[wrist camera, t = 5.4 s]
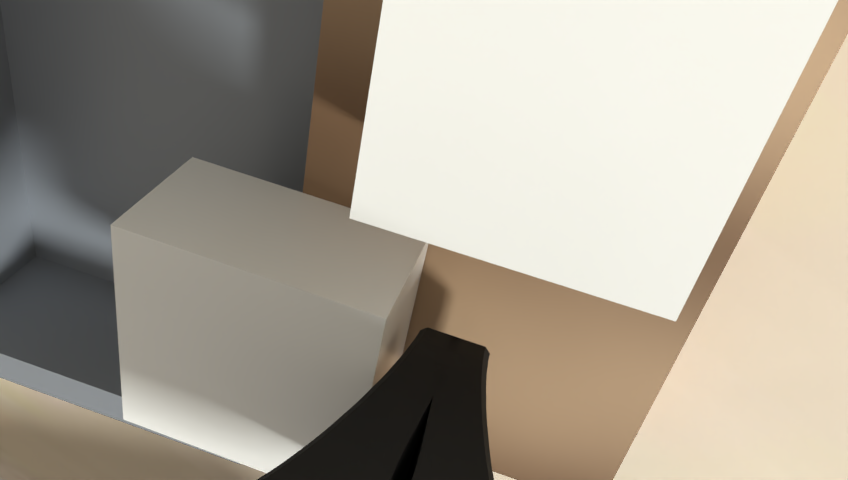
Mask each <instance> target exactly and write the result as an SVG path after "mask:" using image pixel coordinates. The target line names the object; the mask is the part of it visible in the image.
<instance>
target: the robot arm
mask: <svg viewBox="0 0 848 480" xmlns="http://www.w3.org/2000/svg"><path fill="white" fill-rule="evenodd" d="M489 356H490V353H489V351H488V350H487V348H486V347H485V346H482V345H479V344H476V343H473V342H470V341H467V340H464V339H461V338H458V337H455V336H452V335H449V334H446V333H443V332H440V331H437V330H434V329H431V328H428V327H427V328H425V329H422V330H420V331H419V333H418V334H417V336H416V337H415V339H414V340H413V342H412V343H411V344H410V346H409V347H408V348H407V350H406V351H405V352H404V353H403V355H402V356H401V357H400V358H399V359H398V360H397V362H396V363H395V364H394V365H393V366H392V367H391V368H390V369H389V371H388V372H387V373H386V374H385V375H384V376H383V377H382V378H381V379H380V380H379V381H378V382H377V383H376V384H375V385H374V386H373V387H372V388H371V389H370V390H369V391H368V392H367V393H366V394H365V395H364V396H363V397H362V398H361V399H360V400H359V401H358V402H357V403H356V404H355V405H353V406H352V407H351V408H350V409H349V410H348V411H347V412H346V413H344V414H343V415H342V416H341V417H340V418H339V419H338V420H336V421H335V422H334V423H333V424H332V425H331V426H330V427H328V428H327V429H326V430H325V431H324V432H322V433H321V434H320V435H319V436H317V437H316V438H315V439H314V440H312V441H311V442H310V443H309V444H307V445H306V446H305V447H303V448H302V449H301V450H299V451H298V452H297V453H295V454H294V455H293V456H291V457H290V458H288V459H287V460H286V461H284V462H283V463H282V464H280V465H279V466H277V467H276V468H274V469H273V470H271V471H270V472H268V473H267V474H265V475H264V476H262V477H261V478H259V479H258V480H494V479H493V472H492V465H491V458H490V449H489V438H488V427H487V412H486V379H487V368H488V360H489Z"/></svg>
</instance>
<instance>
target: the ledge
mask: <svg viewBox="0 0 848 480" xmlns="http://www.w3.org/2000/svg"><path fill="white" fill-rule="evenodd" d="M382 4H383V0H324V2H323V11H322V20H321V29H320V38H319V48H318V57H317V66H316V75H315V84H314V93H313V103H312V112H311V121H310V130H309V139H308V148H307V158H306V167H305V176H304V185H303V193H305V194H308V195H311V196H314V197H317V198H320V199H324V200H327V201H330V202H333V203H336V204H339V205H342V206H345V207H348V208H351V204H352V198H353V191H354V185H355V178H356V172H357V165H358V159H359V152H360V146H361V139H362V133H363V127H364V120H365V114H366V107H367V101H368V94H369V88H370V81H371V75H372V68H373V62H374V55H375V49H376V43H377V36H378V30H379V23H380V17H381V10H382ZM847 34H848V0H838V2H837V4H836V6H835V8H834V10H833V12H832V14H831V16H830V18H829V20H828V22H827V24H826V26H825V28H824V30H823V32H822V34H821V36H820V38H819V40H818V42H817V44H816V45H815V47H814V49H813V51H812V53H811V55H810V57H809V59H808V61H807V63H806V65H805V67H804V69H803V71H802V73H801V75H800V77H799V79H798V81H797V83H796V85H795V87H794V89H793V91H792V93H791V95H790V97H789V99H788V101H787V103H786V105H785V107H784V109H783V111H782V113H781V115H780V117H779V119H778V121H777V123H776V125H775V127H774V129H773V130H772V132H771V134H770V136H769V138H768V140H767V142H766V144H765V146H764V148H763V150H762V152H761V154H760V156H759V158H758V160H757V162H756V164H755V166H754V168H753V170H752V172H751V174H750V176H749V178H748V180H747V182H746V184H745V186H744V188H743V190H742V192H741V194H740V196H739V198H738V200H737V202H736V204H735V206H734V208H733V210H732V212H731V214H730V215H729V217H728V219H727V221H726V223H725V225H724V227H723V229H722V231H721V233H720V235H719V237H718V239H717V241H716V243H715V245H714V247H713V249H712V251H711V253H710V255H709V257H708V259H707V261H706V263H705V265H704V267H703V269H702V271H701V273H700V275H699V277H698V279H697V281H696V283H695V285H694V287H693V289H692V291H691V293H690V295H689V297H688V298H687V300H686V302H685V304H684V306H683V308H682V310H681V312H680V314H679V316H678V318H677V320H676V321H672V320H669V319H666V318H663V317H660V316H657V315H653V314H650V313H647V312H644V311H641V310H638V309H634V308H631V307H628V306H625V305H622V304H619V303H615V302H612V301H609V300H606V299H603V298H600V297H596V296H593V295H590V294H587V293H584V292H581V291H578V290H574V289H571V288H568V287H565V286H562V285H559V284H555V283H552V282H549V281H546V280H543V279H540V278H536V277H533V276H530V275H527V274H524V273H521V272H517V271H514V270H511V269H508V268H505V267H502V266H498V265H495V264H492V263H489V262H486V261H483V260H479V259H476V258H473V257H470V256H467V255H464V254H461V253H457V252H454V251H451V250H448V249H445V248H442V247H438V246H435V245H432V244H429V243H428V248H427V252H426V256H425V260H424V265H423V269H422V273H421V277H420V282H419V286H418V290H417V294H416V299H415V303H414V307H413V311H412V316H411V320H410V324H409V329H408V333H407V337H406V341H405V346H404V350H403V353H404V352H405V351H406V350H407V348H408V347H409V346H410V344H411V343H412V342H413V340H414V339H415V337H416V336H417V334H418V333H419V331H420V330H422V329H425V328H427V327H428V328H431V329H434V330H437V331H440V332H443V333H446V334H449V335H452V336H455V337H458V338H461V339H464V340H467V341H470V342H473V343H476V344H479V345H482V346H485V347H486V348H487V350H488V351H489V353H490V356H489V360H488V368H487V379H486V412H487V427H488V438H489V449H490V458H491V465H492V471H494V472H497V473H499V474H502V475H505V476H508V477H511V478H514V479H517V480H613V478H614V476H615V475H616V473H617V471H618V469H619V467H620V465H621V463H622V461H623V459H624V457H625V456H626V454H627V452H628V450H629V448H630V446H631V444H632V442H633V440H634V438H635V437H636V435H637V433H638V431H639V429H640V427H641V425H642V423H643V421H644V419H645V418H646V416H647V414H648V412H649V410H650V408H651V406H652V404H653V402H654V400H655V399H656V397H657V395H658V393H659V391H660V389H661V387H662V385H663V383H664V381H665V380H666V378H667V376H668V374H669V372H670V370H671V368H672V366H673V364H674V362H675V361H676V359H677V357H678V355H679V353H680V351H681V349H682V347H683V345H684V344H685V342H686V340H687V338H688V336H689V334H690V332H691V330H692V328H693V326H694V325H695V323H696V321H697V319H698V317H699V315H700V313H701V311H702V309H703V307H704V306H705V304H706V302H707V300H708V298H709V296H710V294H711V292H712V290H713V288H714V287H715V285H716V283H717V281H718V279H719V277H720V275H721V273H722V271H723V269H724V268H725V266H726V264H727V262H728V260H729V258H730V256H731V254H732V252H733V250H734V249H735V247H736V245H737V243H738V241H739V239H740V237H741V235H742V233H743V231H744V230H745V228H746V226H747V224H748V222H749V220H750V218H751V216H752V214H753V212H754V211H755V209H756V207H757V205H758V203H759V201H760V199H761V197H762V195H763V194H764V192H765V190H766V188H767V186H768V184H769V182H770V180H771V178H772V176H773V175H774V173H775V171H776V169H777V167H778V165H779V163H780V161H781V159H782V157H783V156H784V154H785V152H786V150H787V148H788V146H789V144H790V142H791V140H792V138H793V137H794V135H795V133H796V131H797V129H798V127H799V125H800V123H801V121H802V119H803V118H804V116H805V114H806V112H807V110H808V108H809V106H810V104H811V102H812V100H813V99H814V97H815V95H816V93H817V91H818V89H819V87H820V85H821V83H822V81H823V80H824V78H825V76H826V74H827V72H828V70H829V68H830V66H831V64H832V62H833V61H834V59H835V57H836V55H837V53H838V51H839V49H840V47H841V45H842V44H843V42H844V40H845V38H846V36H847ZM402 355H403V354H402Z"/></svg>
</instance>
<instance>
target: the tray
mask: <svg viewBox="0 0 848 480" xmlns="http://www.w3.org/2000/svg"><path fill="white" fill-rule="evenodd" d="M323 2H324V0H0V378H3V379H6V380H8V381H11V382H14V383H17V384H19V385H22V386H25V387H28V388H30V389H33V390H36V391H39V392H41V393H44V394H47V395H50V396H53V397H55V398H58V399H61V400H64V401H66V402H69V403H72V404H75V405H77V406H80V407H83V408H86V409H88V410H91V411H94V412H97V413H99V414H102V415H105V416H108V417H111V418H113V419H116V420H119V421H122V422H124V423H127V424H130V425H133V426H135V427H138V428H141V429H144V430H146V431H149V432H152V433H155V434H157V435H160V436H163V437H166V438H168V439H171V440H174V441H177V442H180V443H182V444H185V445H188V446H191V447H193V448H196V449H199V450H202V451H204V452H207V453H210V454H213V455H215V456H218V457H221V458H224V457H222V456H219V455H216V454H214V453H211V452H209V451H206V450H203V449H201V448H198V447H195V446H193V445H190V444H187V443H185V442H182V441H179V440H177V439H174V438H171V437H169V436H166V435H163V434H161V433H158V432H155V431H153V430H150V429H147V428H145V427H142V426H139V425H137V424H134V423H131V422H129V421H126V420H124V419H123V407H122V392H121V377H120V362H119V347H118V331H117V316H116V301H115V286H114V271H113V256H112V241H111V226H110V225H111V224H112V223H113V222H114V221H116V220H117V219H118V218H119V217H120V216H122V215H123V214H124V213H125V212H126V211H128V210H129V209H130V208H131V207H132V206H134V205H135V204H136V203H137V202H139V201H140V200H141V199H142V198H143V197H145V196H146V195H147V194H148V193H149V192H151V191H152V190H153V189H154V188H155V187H157V186H158V185H159V184H160V183H162V182H163V181H164V180H165V179H166V178H168V177H169V176H170V175H171V174H172V173H174V172H175V171H176V170H177V169H178V168H180V167H181V166H182V165H183V164H184V163H186V162H187V161H188V160H189V159H191V158H192V157H194V158H197V159H200V160H203V161H206V162H209V163H213V164H216V165H219V166H222V167H225V168H228V169H231V170H234V171H237V172H240V173H243V174H246V175H250V176H253V177H256V178H259V179H262V180H265V181H268V182H271V183H274V184H277V185H280V186H283V187H287V188H290V189H293V190H296V191H299V192H302V193H303V185H304V176H305V167H306V158H307V148H308V139H309V130H310V121H311V112H312V103H313V93H314V84H315V75H316V66H317V57H318V48H319V38H320V29H321V20H322V11H323ZM224 459H226V460H229V461H232V460H230V459H227V458H224ZM232 462H235V461H232ZM235 463H238V462H235ZM238 464H240V463H238Z"/></svg>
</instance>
